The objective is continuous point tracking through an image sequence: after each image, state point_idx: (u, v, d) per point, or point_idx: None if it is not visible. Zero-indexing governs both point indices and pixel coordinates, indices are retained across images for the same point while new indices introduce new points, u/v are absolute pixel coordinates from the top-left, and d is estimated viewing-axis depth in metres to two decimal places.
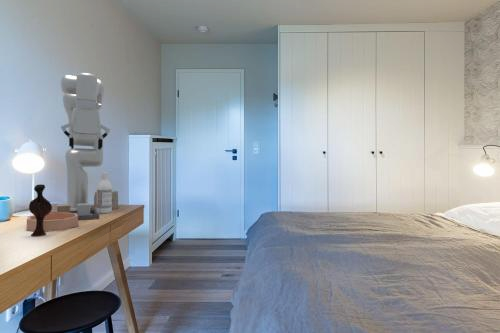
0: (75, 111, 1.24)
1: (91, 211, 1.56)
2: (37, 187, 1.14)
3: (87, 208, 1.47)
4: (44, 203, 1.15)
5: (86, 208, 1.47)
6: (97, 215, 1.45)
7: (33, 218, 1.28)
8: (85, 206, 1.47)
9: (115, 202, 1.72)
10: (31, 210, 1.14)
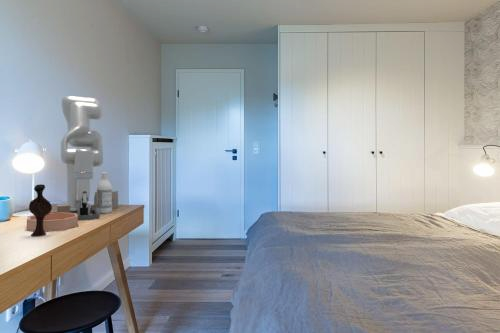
0: (89, 182, 1.46)
1: (91, 211, 1.56)
2: (37, 187, 1.14)
3: None
4: (44, 203, 1.15)
5: None
6: (97, 215, 1.45)
7: (33, 218, 1.28)
8: None
9: (115, 202, 1.72)
10: (31, 210, 1.14)
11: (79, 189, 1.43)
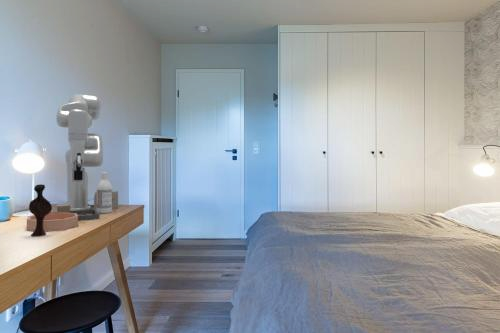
0: (83, 144, 1.39)
1: (91, 211, 1.56)
2: (37, 187, 1.14)
3: (82, 171, 1.41)
4: (44, 203, 1.15)
5: None
6: (97, 215, 1.45)
7: (33, 218, 1.28)
8: None
9: (115, 202, 1.72)
10: (31, 210, 1.14)
11: (73, 150, 1.36)
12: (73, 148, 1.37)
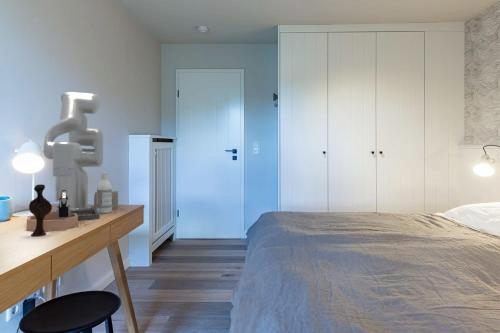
0: (69, 180, 1.28)
1: (91, 211, 1.56)
2: (37, 187, 1.14)
3: None
4: (44, 203, 1.15)
5: None
6: (97, 215, 1.45)
7: (33, 218, 1.28)
8: None
9: (115, 202, 1.72)
10: (31, 210, 1.14)
11: (57, 187, 1.26)
12: (57, 185, 1.26)
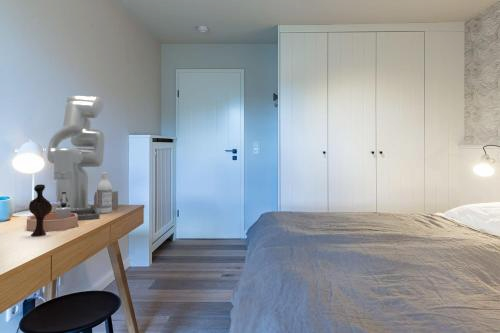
0: (69, 183, 1.42)
1: (91, 211, 1.56)
2: (37, 187, 1.14)
3: (67, 213, 1.30)
4: (44, 203, 1.15)
5: (66, 213, 1.30)
6: (97, 215, 1.45)
7: (33, 218, 1.28)
8: (65, 211, 1.30)
9: (115, 202, 1.72)
10: (31, 210, 1.14)
11: (58, 190, 1.39)
12: (58, 187, 1.39)
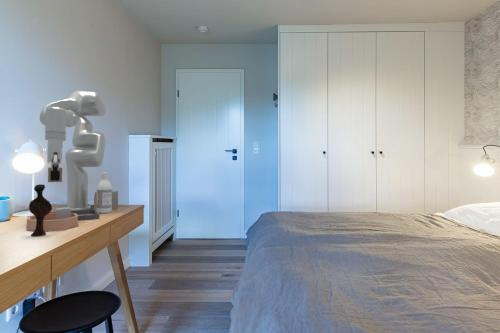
0: (61, 143, 1.34)
1: (91, 211, 1.56)
2: (37, 187, 1.14)
3: (67, 213, 1.30)
4: (44, 203, 1.15)
5: (66, 213, 1.30)
6: (97, 215, 1.45)
7: (33, 218, 1.28)
8: (65, 211, 1.30)
9: (115, 202, 1.72)
10: (31, 210, 1.14)
11: (49, 149, 1.31)
12: (49, 147, 1.31)
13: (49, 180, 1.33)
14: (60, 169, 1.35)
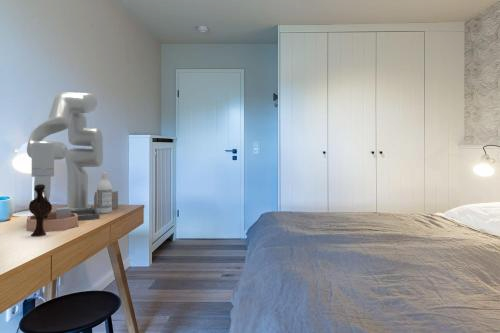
0: (48, 180, 1.25)
1: (91, 211, 1.56)
2: (37, 187, 1.14)
3: (67, 213, 1.30)
4: (44, 203, 1.15)
5: (66, 213, 1.30)
6: (97, 215, 1.45)
7: (33, 218, 1.28)
8: (65, 211, 1.30)
9: (115, 202, 1.72)
10: (31, 210, 1.14)
11: None
12: None
13: None
14: None
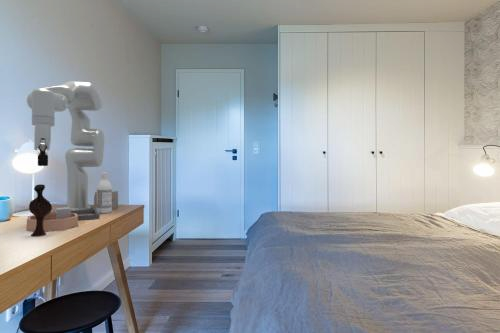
0: (49, 128, 1.24)
1: (91, 211, 1.56)
2: (37, 187, 1.14)
3: (67, 213, 1.30)
4: (44, 203, 1.15)
5: (66, 213, 1.30)
6: (97, 215, 1.45)
7: (33, 218, 1.28)
8: (65, 211, 1.30)
9: (115, 202, 1.72)
10: (31, 210, 1.14)
11: (36, 135, 1.21)
12: (36, 132, 1.21)
13: None
14: None
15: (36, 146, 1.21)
